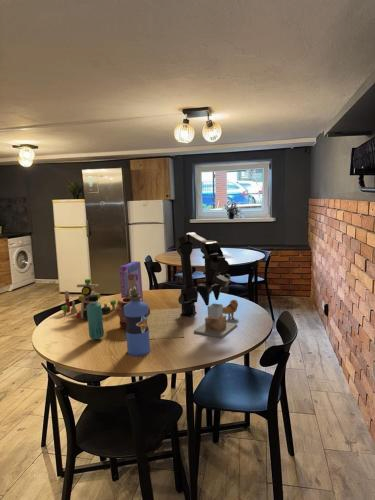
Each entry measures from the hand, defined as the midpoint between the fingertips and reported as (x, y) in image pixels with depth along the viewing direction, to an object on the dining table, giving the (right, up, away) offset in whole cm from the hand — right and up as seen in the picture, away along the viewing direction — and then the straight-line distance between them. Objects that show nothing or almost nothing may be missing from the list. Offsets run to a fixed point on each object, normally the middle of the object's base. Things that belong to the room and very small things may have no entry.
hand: (212, 302), depth 157 cm
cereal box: (-44, -8, +47) cm, 65 cm away
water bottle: (-31, -17, -20) cm, 40 cm away
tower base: (+2, -12, -1) cm, 12 cm away
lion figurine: (+8, -10, +13) cm, 18 cm away
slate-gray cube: (+1, -6, -2) cm, 6 cm away
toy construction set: (-68, -12, +32) cm, 76 cm away
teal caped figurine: (-51, -16, -6) cm, 54 cm away
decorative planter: (-37, -13, +7) cm, 40 cm away
